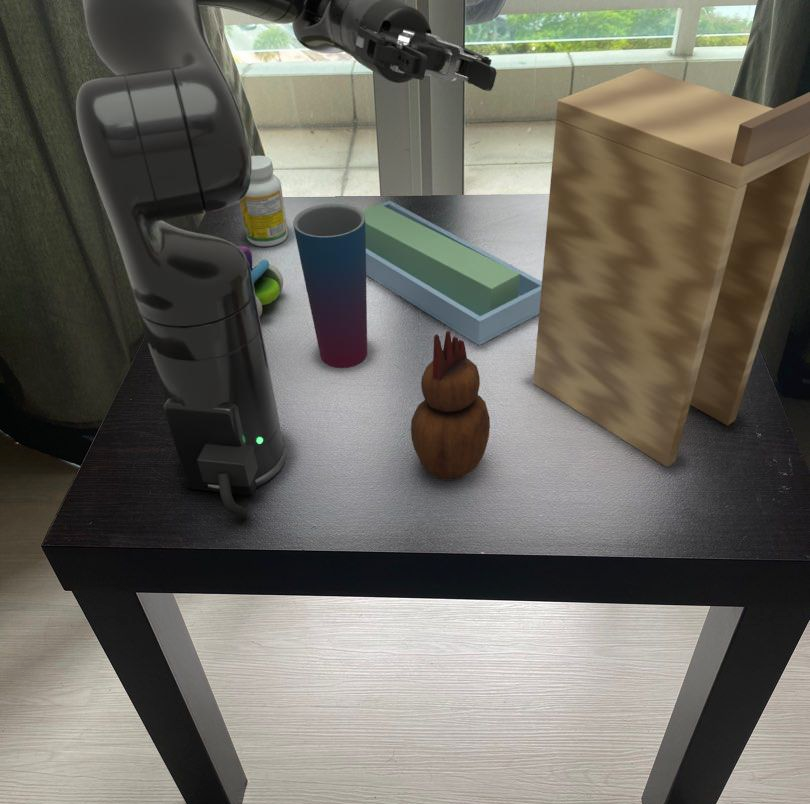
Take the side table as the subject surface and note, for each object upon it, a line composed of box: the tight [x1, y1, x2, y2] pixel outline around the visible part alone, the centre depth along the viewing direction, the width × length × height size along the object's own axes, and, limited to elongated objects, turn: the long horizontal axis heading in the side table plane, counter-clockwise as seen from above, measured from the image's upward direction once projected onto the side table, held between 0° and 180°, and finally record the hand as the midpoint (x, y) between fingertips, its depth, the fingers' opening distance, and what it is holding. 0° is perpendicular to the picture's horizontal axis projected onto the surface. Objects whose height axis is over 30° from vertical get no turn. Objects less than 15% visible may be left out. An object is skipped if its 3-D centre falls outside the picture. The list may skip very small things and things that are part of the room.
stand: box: [532, 67, 810, 468], centre depth 72 cm, size 17×10×30 cm, turn 39°
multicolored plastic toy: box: [238, 245, 284, 317], centre depth 95 cm, size 8×10×7 cm
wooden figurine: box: [410, 330, 491, 481], centre depth 72 cm, size 7×6×15 cm
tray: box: [366, 200, 542, 346], centre depth 99 cm, size 28×10×3 cm, turn 39°
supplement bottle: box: [239, 155, 289, 247], centre depth 105 cm, size 5×5×10 cm
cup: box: [292, 202, 368, 369], centre depth 85 cm, size 7×7×15 cm
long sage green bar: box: [360, 203, 520, 316], centre depth 98 cm, size 24×4×4 cm, turn 41°
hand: (458, 74), depth 86 cm, fingers open, 8 cm apart
